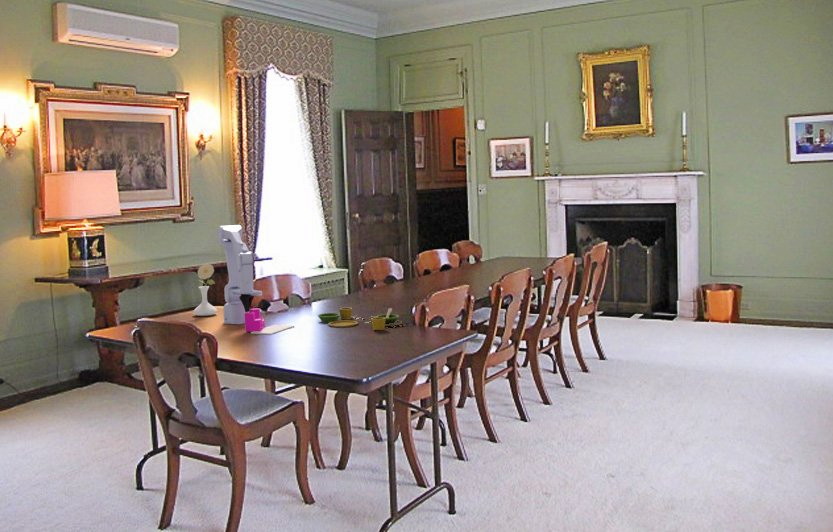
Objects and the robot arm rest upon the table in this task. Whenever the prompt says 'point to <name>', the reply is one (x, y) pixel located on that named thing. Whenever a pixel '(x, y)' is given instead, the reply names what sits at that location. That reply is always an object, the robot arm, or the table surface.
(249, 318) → the toy block
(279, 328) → the mat
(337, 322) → the tableware set
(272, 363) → the table surface
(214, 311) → the flower in vase
